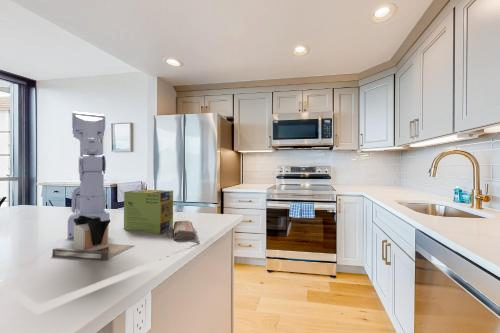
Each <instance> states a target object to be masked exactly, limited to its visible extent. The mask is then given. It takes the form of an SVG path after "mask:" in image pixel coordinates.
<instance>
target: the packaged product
mask: <svg viewBox="0 0 500 333" xmlns="http://www.w3.org/2000/svg"><path fill="white" fill-rule="evenodd" d="M167 238H172V240H173V241H175V242H176V241H185V242H190V243H193V244H197V245H198V244H199V243H200V242H199V241H200V240H199V237H198V235H197V231H196V228H194V226H193V223H192V221H191V220H177V221H176V220H175V221H174V222H173V228H171V229H169V230H168V236H167Z"/></svg>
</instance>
